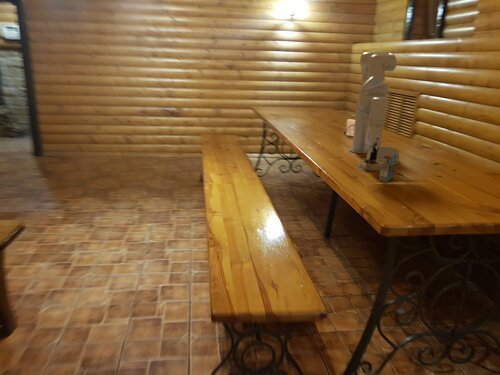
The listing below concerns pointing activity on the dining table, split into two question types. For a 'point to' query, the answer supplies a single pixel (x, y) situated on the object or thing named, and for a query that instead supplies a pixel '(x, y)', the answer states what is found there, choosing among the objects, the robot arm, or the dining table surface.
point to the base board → (364, 170)
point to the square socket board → (373, 166)
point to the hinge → (387, 151)
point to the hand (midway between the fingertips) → (371, 158)
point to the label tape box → (387, 170)
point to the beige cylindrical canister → (369, 155)
